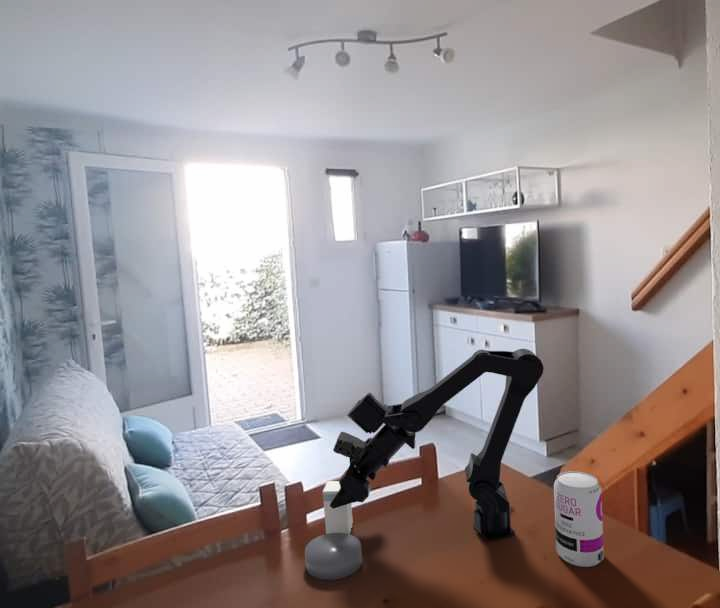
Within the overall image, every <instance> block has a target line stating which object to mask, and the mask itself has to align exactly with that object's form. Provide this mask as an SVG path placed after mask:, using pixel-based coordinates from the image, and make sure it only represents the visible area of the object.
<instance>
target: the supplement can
mask: <svg viewBox="0 0 720 608" xmlns="http://www.w3.org/2000/svg"><path fill="white" fill-rule="evenodd" d="M602 495H603V494H602V487H601V485H600V483H599V481H598V479H597V478H596V477H595V476H594V475H591V474H589V473H586V472H583V471H582V472H581V471H564V472H561V473H559V474H558V475H557V476H556V479H555V481H554V483H553V499H554V520H555V521H554V523H555V546H556V547H555V548H556V552H557V554H558V556H560V558H561V559H562V560H564V562H567V563H568V564H570V565H573V566H576V567H580V568H581V567H583V568H588V567H589V568H590V567H595V566H597V565H599V564H600V563H601V562H603V560H604V558H605V556H604V529H603V528H604V527H603V525H604V524H603V496H602Z"/></svg>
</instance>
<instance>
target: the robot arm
mask: <svg viewBox="0 0 720 608" xmlns="http://www.w3.org/2000/svg"><path fill="white" fill-rule="evenodd" d="M544 369H545V368H544V364H543V362H542V360H541V359H540V358H539V356H537V355H536V354H535V353H534V352H533V351H532V350H530V349H526V348H519V349H516V350H514V351H509V350H486V349H478V350H476V351H475V352H474V353H473V354H472V355H470V357H469V358H468V359H466V360H465V361H464V362H463V363H461V364H460V365H459V366H458V367H456V368H455V369H454V370H453V371H452V370H451V372H450V373H448V374H447V375H446V376H445V377H443V378H442V379H440V381H438V382H437V383H435V384H434V385H433V386H432V387H430V388H428V389H427V390H424V391H421V392H418V393H416V394H414V395H412V396H410V397H409V398H407V399H406V400H404V401H403V402H402V403H398V404H391V405H387V407H385V406H384V405H383V404H382V403H381V402H379V400H377V398H376V397H375V396H374V395H373V394H372V393H371V392H368V393H367V394H365V396H363V397H362V398H361V399H359V400H358V401H357V402H356V403H355V404H354V405H353V407H352V408H351V409H350V410H349V412H348V413H347V415H346V416H347V417H348V418H349V419H350V420H351V421H352V422H354V424H356V425H357V426H358V427H359V428H360V429H361V430H363V431H364V432H365V433H366V434H368V433H369V434H370V435H371V434H374V436H373V437H368V438H367V439H366V440H365V441H364V440H363V439H361V438H359V437H357V436H354V435H352V434H350V433H348V432H345V431H340V433H339V435H338V437H337V439H336V442H335V444H334V447H333V448H332V449H333V450H332V451H333V452H334V453H336V454H339V455H342V456H343V457H346V458H349V465H348V468H346V470H345V471H344V473H342V475H341V477H340V478H339V480H338V481H339V484H340V487H341V488H340V489H339V491H338V493H337V494H336V496H335V497H334V499H333V500H332V502H331V503H330V507H332V508H333V509H334V508H337V507H340V506H343V505H346V504H350V503H351V504H353V503H363V502H365V501H366V500H367V499H368V498H369V496H370V492H371V482H370V481H369V480H367V478H369V479H370V480H371V481H374V480H375V478H376V477H377V474H378V472H379V471H381V469H383V467H384V468H386V467H387V466H388V465H389V463H390V460H391V458H393V456H395V455H396V454H397V453H398V452H399V450H401V448H402V447H404V445H405V444H407V446H408V447H409V448H411V449H412V450H414V449H415V448H416V434H417V433H419V432H421V431H422V430H423V429H425V427H426V426H427V425H428V424H429V422H430V421H432V419H433V418H434V417H435V415H436V414H437V413H438V411H439V410H440V409H441V408H442V406H443V405H445V404H446V403H448V401H450V400H451V399H453V398H454V397H455V396H457V395H458V394H459V393H460V392H462V391H463V390H464V389H465V388H467V387H468V386H469V385H471V384H472V383H473V382H474V381H475V380H478V379H479V378H480V377H481V376H483V374H485V373H490V374H496V375H501V376H504V377H505V388H504V391H503V394H502V396H501V399H500V401H499V404H498V406H497V409H496V412H495V416H494V418H493V420H492V424H491V426H490V428H489V432H488V434H487V436H486V440H485V441H484V445H483V447H482V449H481V451H480V452H479V453H478V454H477V455H476V454H475V453H473V452H472V453H470V457H469V462H468V464H467V465H466V466H465V467H464V472H465V478H466V483H467V487H468V493H469V494H470V497H472V498H473V500H475V509H474V510H473V517H474V518H473V519H474V523H473V525H472V526H473V528H474V529H475V530H476V531H477V532H478V533H479V534H480V535H481V536H482V537H483V538H484V539H485V540H486V541H487V542H488V541H493V540H497V539H501V538H502V539H503V538H507V537H511V536H514V535H516V531H515V530H514V529H512V527H511V509H510V507H511V506H510V503H511V502H510V501H509V499H508V495H507V492H506V491H507V490H506V488H505V486H504V483H503V482H502V481H500V480H501V477H500V476H501V467H502V466H501V464H502V460H503V457H504V455H505V452H506V450H507V447H508V444H509V442H510V440H511V436H512V434H513V432H514V428H515V426H516V423H517V420H518V418H519V415H520V412H521V410H522V408H523V404H524V402H525V400H526V398H527V397H528V396H529V395H530V393H531V392H532V391H533V390H534V389H535V388H536V385H537V384H538V383H539V381H540V379H541V378H542V376H543V374H544V371H545V370H544ZM381 426H382V427H381ZM380 427H381V428H380ZM376 432H377V433H376ZM375 433H376V434H375Z"/></svg>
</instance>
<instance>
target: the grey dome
mask: <svg viewBox="0 0 720 608" xmlns="http://www.w3.org/2000/svg"><path fill="white" fill-rule="evenodd" d="M362 555H363V554H362V543H361V541H360V540H359V539H358V538H357V537H356V536H354V535H352V534H351V533H350V534H346V533H329V534H326V533H325V534H322V535H319V536H317V537H314V538H313V539H312V540H310V541H309V542H308V543H307V545H305V549H304V561H305V568H306V571H307V573H308V574H309V575H310V576H312V577H313V578H316V579H319V580H325V581H333V580H334V581H335V580H340V579H344V578H347V577H349V576H352V575H353V574H355V573H356V572H357V571H358V570H359V569H360V568H361V566H362V563H363V556H362Z"/></svg>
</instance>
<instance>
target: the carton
mask: <svg viewBox="0 0 720 608" xmlns="http://www.w3.org/2000/svg"><path fill="white" fill-rule="evenodd" d="M339 481H340V480H338V481H337V480H335V481H334V480H333V481H332V480H328V481H326V483H325V485H324V488H323V490H322V498H323V510H324V511H323V513H324V524H325V534H329V533H346V534H350V535H351V532H352V529H351V528H353V525H354V524H353V523H354V522H353V521H354V520H353V511H352V510H353V509H352V503H350V504H346V505H343V506H340V507H337V508H334V509H333V508H332V507H330V503H331V502H332V500H333V499H334V497H335V496H336V494H337V493H338V491H339V489H340V488H341V487H340V484H339ZM352 524H353V525H352Z"/></svg>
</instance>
